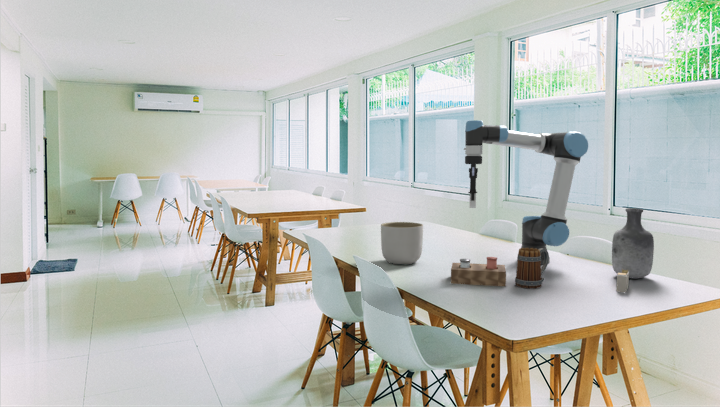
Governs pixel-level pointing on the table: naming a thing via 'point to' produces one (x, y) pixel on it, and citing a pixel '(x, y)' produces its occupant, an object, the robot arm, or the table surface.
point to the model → (622, 281)
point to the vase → (633, 247)
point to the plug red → (491, 262)
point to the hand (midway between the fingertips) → (472, 207)
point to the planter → (401, 242)
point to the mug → (530, 268)
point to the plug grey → (464, 263)
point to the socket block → (478, 275)
